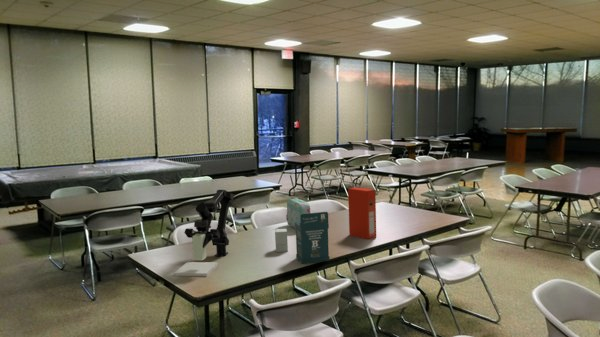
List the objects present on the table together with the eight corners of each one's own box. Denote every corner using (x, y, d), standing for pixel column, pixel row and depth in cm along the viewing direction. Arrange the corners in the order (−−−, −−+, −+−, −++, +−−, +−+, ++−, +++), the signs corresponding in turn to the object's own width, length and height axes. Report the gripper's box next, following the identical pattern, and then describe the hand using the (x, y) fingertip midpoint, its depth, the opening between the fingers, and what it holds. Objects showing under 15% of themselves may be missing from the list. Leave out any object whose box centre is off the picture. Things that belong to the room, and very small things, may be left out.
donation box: (302, 264, 248) (300, 214, 245) (294, 256, 263) (292, 208, 260) (329, 260, 252) (328, 211, 249) (320, 252, 267) (318, 206, 264)
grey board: (187, 264, 253) (186, 262, 253) (217, 265, 251) (217, 262, 251) (173, 275, 236) (173, 273, 235) (206, 276, 233) (206, 273, 233)
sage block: (197, 256, 244) (196, 233, 242) (206, 257, 243) (205, 234, 241) (193, 259, 239) (192, 236, 238) (202, 260, 238) (201, 236, 236)
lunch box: (284, 224, 342) (283, 197, 339) (297, 223, 346) (296, 195, 344) (299, 232, 318) (298, 202, 315) (312, 230, 322) (311, 200, 320)
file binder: (368, 239, 293) (367, 191, 289) (349, 234, 306) (348, 188, 302) (376, 237, 298) (375, 189, 294) (357, 232, 311) (356, 187, 307)
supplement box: (287, 248, 279) (287, 228, 278) (287, 251, 272) (287, 231, 270) (275, 248, 279) (275, 228, 277) (275, 252, 271) (274, 231, 270)
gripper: (184, 214, 244) (176, 239, 235) (217, 214, 240) (209, 240, 231) (192, 224, 253) (184, 249, 243) (223, 225, 249) (216, 250, 239)
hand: (198, 247), depth 239 cm, fingers closed on sage block, 5 cm apart
